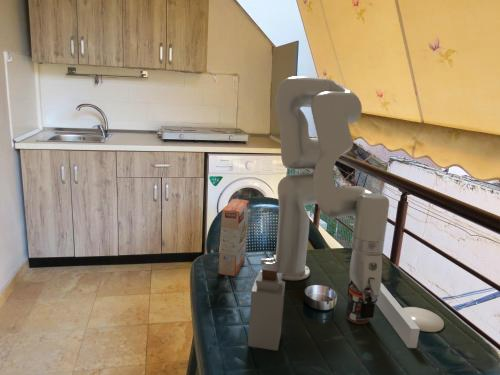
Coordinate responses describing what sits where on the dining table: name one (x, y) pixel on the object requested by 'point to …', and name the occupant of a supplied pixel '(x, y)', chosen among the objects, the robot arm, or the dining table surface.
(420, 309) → the resting pad
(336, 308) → the dining table surface
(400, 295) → the dining table surface
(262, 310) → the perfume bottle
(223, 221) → the cracker box
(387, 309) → the low wall
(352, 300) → the supplement bottle
